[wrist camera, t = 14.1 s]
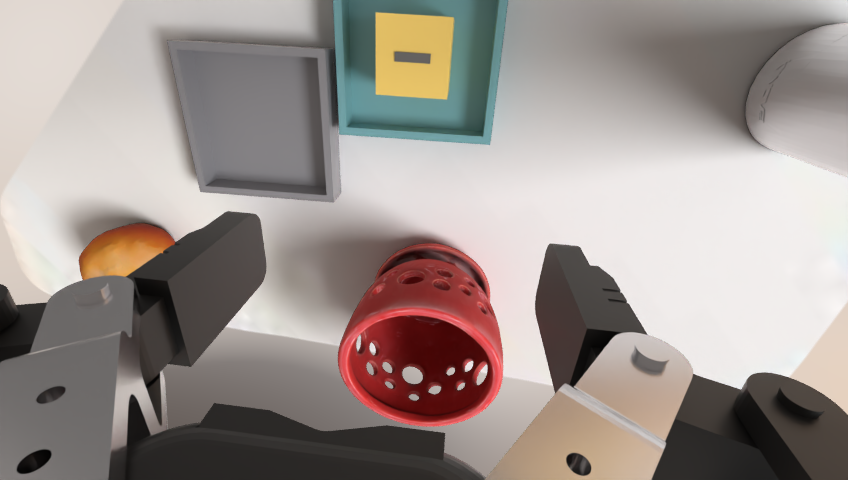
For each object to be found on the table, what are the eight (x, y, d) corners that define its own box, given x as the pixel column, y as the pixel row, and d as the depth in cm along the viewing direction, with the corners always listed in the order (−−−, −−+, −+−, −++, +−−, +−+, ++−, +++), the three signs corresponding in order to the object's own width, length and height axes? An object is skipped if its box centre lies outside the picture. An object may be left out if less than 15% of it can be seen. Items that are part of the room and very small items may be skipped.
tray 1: (334, 48, 32) (324, 49, 29) (341, 192, 37) (333, 202, 35) (186, 40, 32) (166, 40, 30) (215, 183, 38) (200, 191, 36)
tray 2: (509, -35, 28) (513, -41, 26) (488, 137, 34) (489, 144, 32) (340, -43, 29) (330, -49, 27) (346, 128, 34) (339, 134, 32)
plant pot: (375, 220, 38) (342, 290, 28) (508, 247, 38) (527, 327, 28) (361, 324, 44) (329, 415, 34) (476, 347, 44) (481, 445, 34)
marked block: (454, 20, 30) (453, 16, 25) (448, 90, 32) (446, 99, 27) (388, 16, 30) (375, 12, 25) (387, 86, 32) (375, 94, 28)
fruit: (88, 200, 38) (69, 249, 33) (184, 209, 42) (182, 254, 37) (90, 266, 42) (73, 320, 36) (178, 268, 46) (175, 317, 40)
